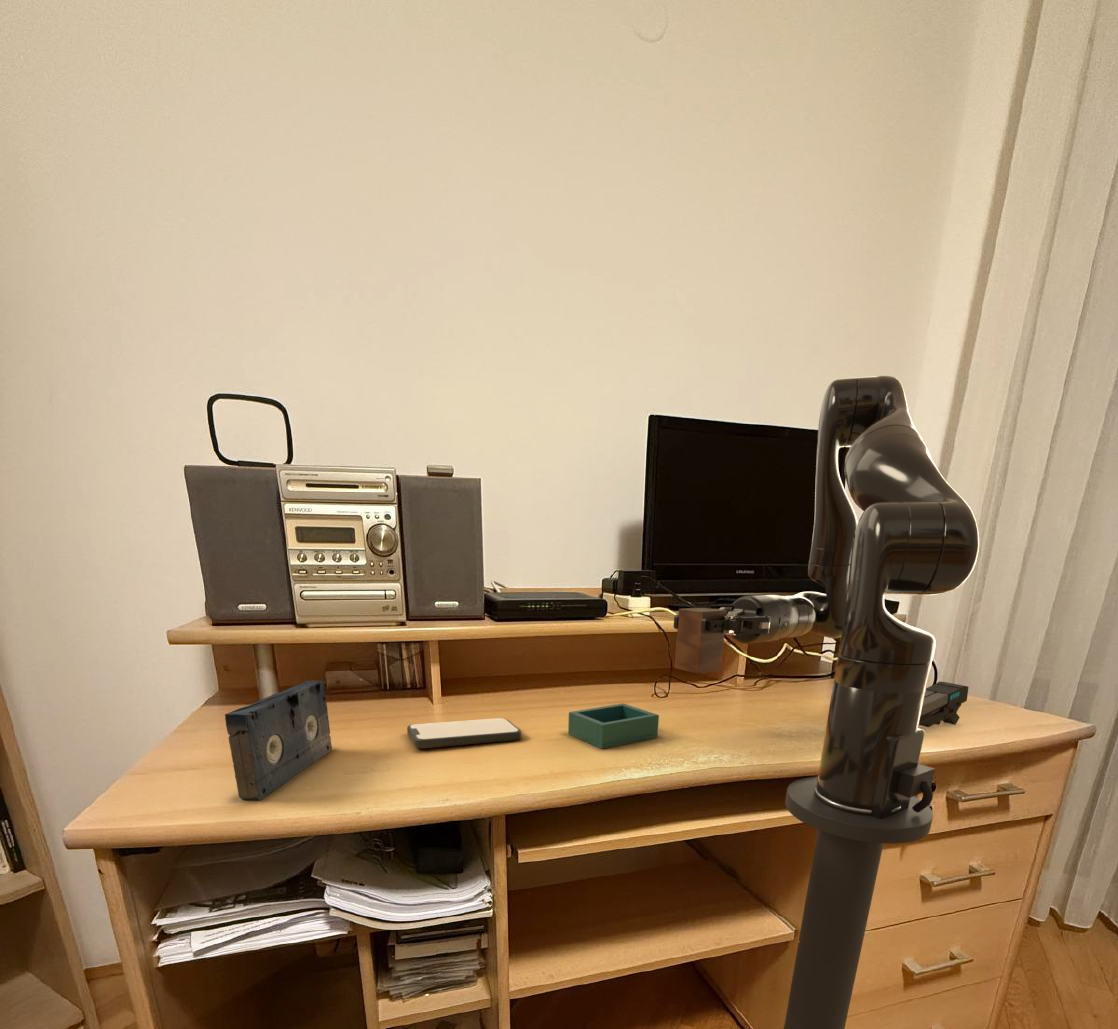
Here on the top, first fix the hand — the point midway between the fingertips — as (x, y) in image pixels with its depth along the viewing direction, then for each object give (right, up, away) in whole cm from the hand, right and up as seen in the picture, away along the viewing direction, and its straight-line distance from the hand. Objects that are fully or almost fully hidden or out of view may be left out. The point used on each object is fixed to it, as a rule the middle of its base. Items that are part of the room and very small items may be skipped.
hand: (689, 623), depth 87 cm
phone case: (-34, -17, +2) cm, 38 cm away
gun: (+40, -16, +10) cm, 44 cm away
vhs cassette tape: (-53, -22, -13) cm, 59 cm away
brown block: (+2, -6, +4) cm, 7 cm away
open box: (-11, -16, +4) cm, 20 cm away
